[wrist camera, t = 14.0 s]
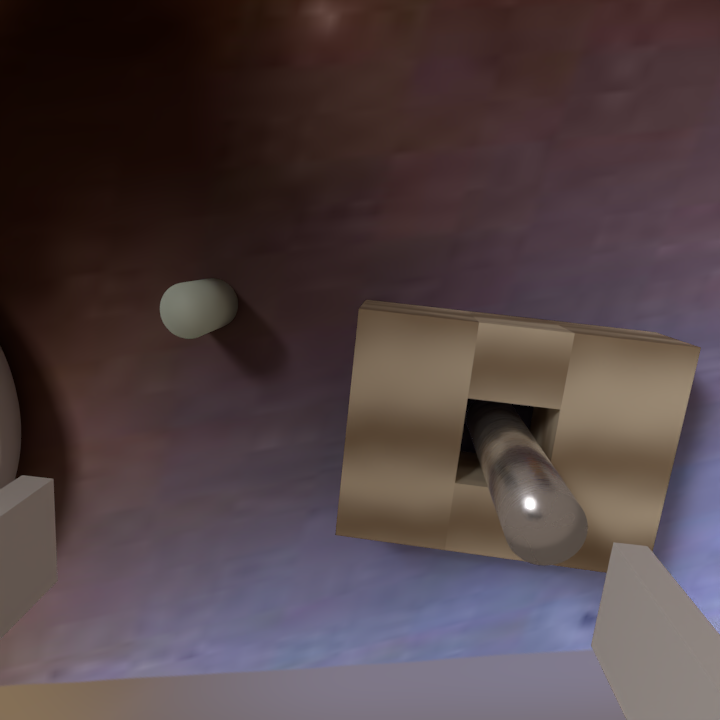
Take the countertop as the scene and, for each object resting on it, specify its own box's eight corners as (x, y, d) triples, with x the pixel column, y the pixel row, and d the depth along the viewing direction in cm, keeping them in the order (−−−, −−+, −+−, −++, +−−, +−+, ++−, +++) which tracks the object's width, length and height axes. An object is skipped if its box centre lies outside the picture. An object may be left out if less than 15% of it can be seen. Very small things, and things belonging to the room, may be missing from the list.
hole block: (366, 299, 39) (359, 308, 33) (655, 332, 38) (700, 347, 32) (345, 494, 42) (335, 535, 36) (611, 530, 41) (646, 578, 35)
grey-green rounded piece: (190, 275, 40) (160, 279, 35) (239, 281, 39) (216, 285, 34) (188, 324, 40) (158, 335, 35) (236, 330, 40) (213, 341, 35)
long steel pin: (469, 391, 40) (511, 485, 24) (519, 397, 39) (594, 496, 24) (462, 438, 40) (498, 559, 25) (511, 445, 40) (579, 570, 24)
